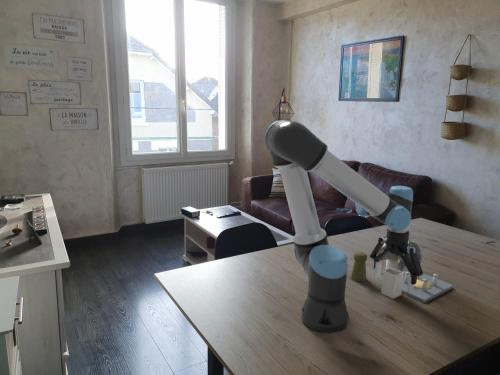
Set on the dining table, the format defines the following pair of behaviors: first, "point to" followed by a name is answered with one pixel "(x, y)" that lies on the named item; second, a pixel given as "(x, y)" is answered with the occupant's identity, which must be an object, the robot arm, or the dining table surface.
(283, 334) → the dining table surface
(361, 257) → the cork
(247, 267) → the dining table surface
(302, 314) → the robot arm
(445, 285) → the pin board
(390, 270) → the cream plug
